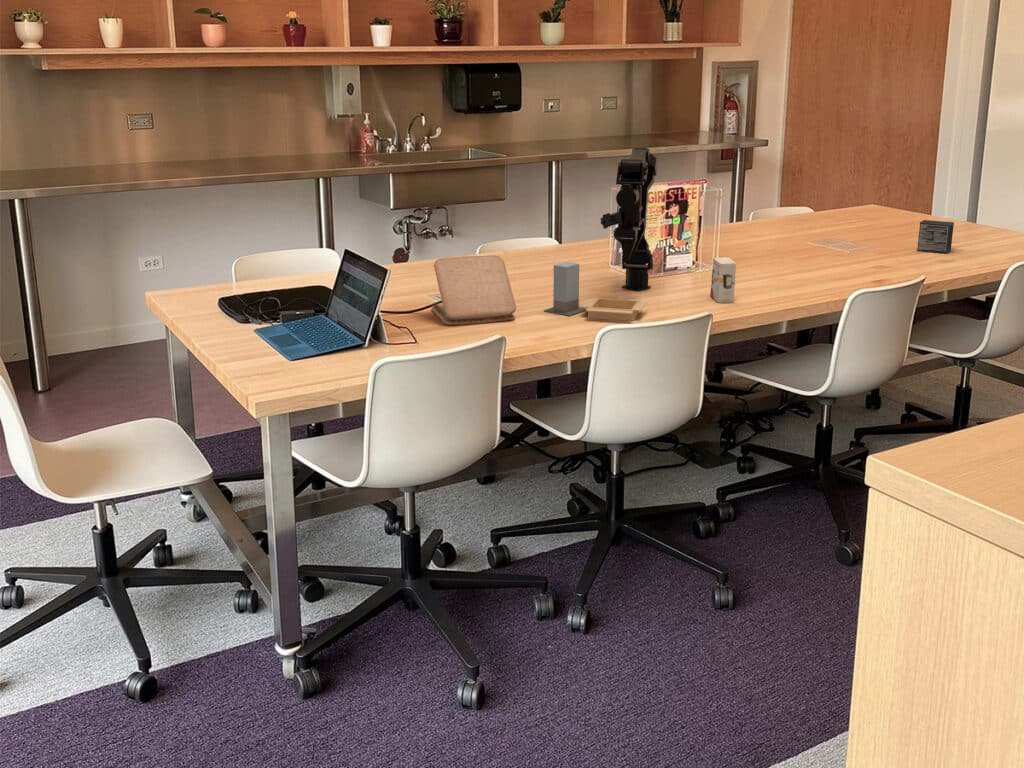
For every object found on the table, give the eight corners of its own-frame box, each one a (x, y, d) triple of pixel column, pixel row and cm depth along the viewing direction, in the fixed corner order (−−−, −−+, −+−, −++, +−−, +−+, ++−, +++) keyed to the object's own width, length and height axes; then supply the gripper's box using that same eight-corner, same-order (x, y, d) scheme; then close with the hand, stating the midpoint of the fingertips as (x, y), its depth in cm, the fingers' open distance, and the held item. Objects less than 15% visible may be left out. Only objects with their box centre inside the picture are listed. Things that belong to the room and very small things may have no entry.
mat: (563, 305, 323) (563, 304, 323) (588, 310, 318) (588, 308, 317) (544, 311, 316) (544, 310, 316) (569, 316, 311) (569, 315, 311)
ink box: (709, 296, 333) (711, 257, 329) (726, 295, 333) (728, 256, 330) (717, 303, 325) (719, 263, 321) (734, 302, 325) (737, 262, 321)
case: (445, 327, 301) (444, 269, 296) (429, 309, 320) (428, 254, 315) (518, 322, 307) (518, 265, 302) (497, 304, 326) (497, 250, 321)
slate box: (565, 306, 320) (566, 261, 316) (578, 308, 318) (579, 263, 314) (553, 310, 316) (553, 265, 312) (566, 312, 313) (566, 267, 309)
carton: (592, 304, 323) (592, 295, 322) (649, 308, 319) (649, 298, 318) (578, 319, 307) (578, 309, 306) (638, 324, 303) (638, 313, 302)
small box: (951, 251, 395) (955, 221, 392) (947, 254, 390) (951, 224, 387) (920, 248, 401) (923, 219, 397) (916, 251, 395) (919, 221, 392)
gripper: (609, 197, 329) (608, 249, 334) (596, 207, 312) (595, 262, 317) (647, 199, 326) (645, 251, 331) (635, 209, 309) (634, 264, 314)
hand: (629, 257), depth 324 cm, fingers open, 9 cm apart
